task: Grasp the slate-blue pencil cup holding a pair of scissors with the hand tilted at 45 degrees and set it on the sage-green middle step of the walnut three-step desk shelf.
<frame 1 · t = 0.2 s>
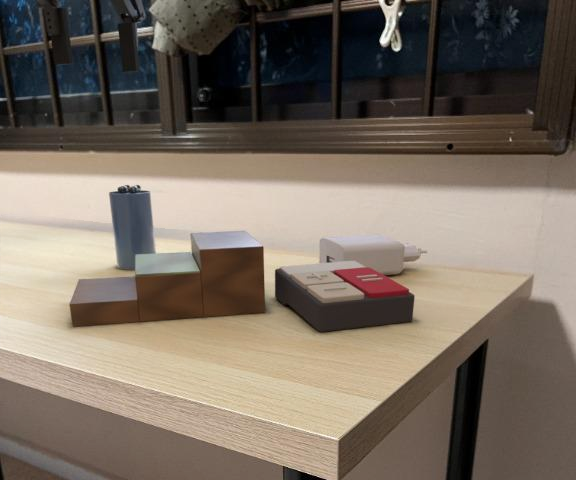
hand: (99, 68, 89), 28 cm above the table, tool pointing down, fingers open, 13 cm apart
step shelf: (169, 305, 73), on the table
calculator: (339, 311, 70), on the table
charger: (377, 271, 90), on the table
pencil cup: (137, 265, 95), on the table
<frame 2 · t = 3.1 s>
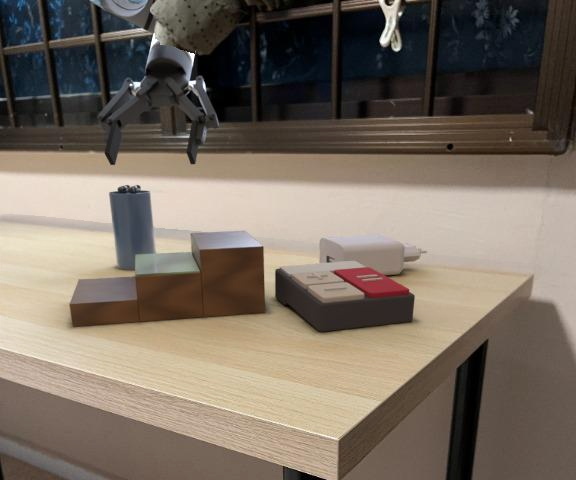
hand: (149, 159, 98), 15 cm above the table, tool tilted 45°, fingers open, 13 cm apart
nothing on the table moved.
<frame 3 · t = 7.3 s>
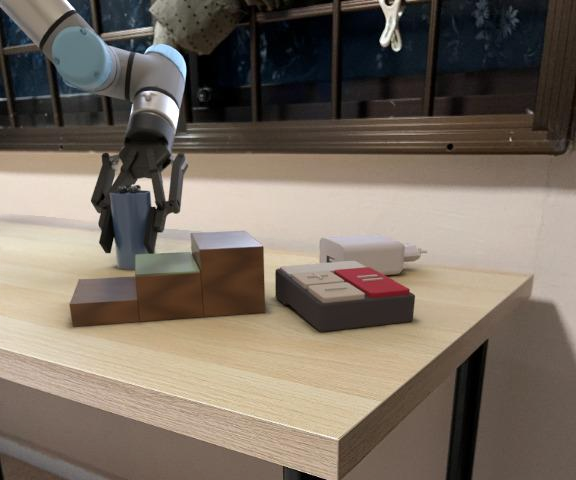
hand: (126, 248, 90), 3 cm above the table, tool tilted 45°, fingers closed on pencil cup, 6 cm apart
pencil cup: (137, 265, 95), on the table, touching gripper
everything else where it was.
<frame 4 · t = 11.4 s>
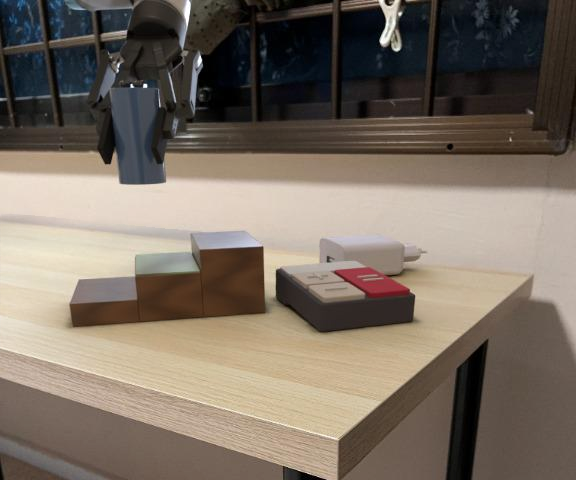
hand: (130, 156, 74), 16 cm above the table, tool tilted 45°, fingers closed on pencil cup, 6 cm apart
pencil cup: (143, 182, 79), point 13 cm above the table, touching gripper
everything else where it was.
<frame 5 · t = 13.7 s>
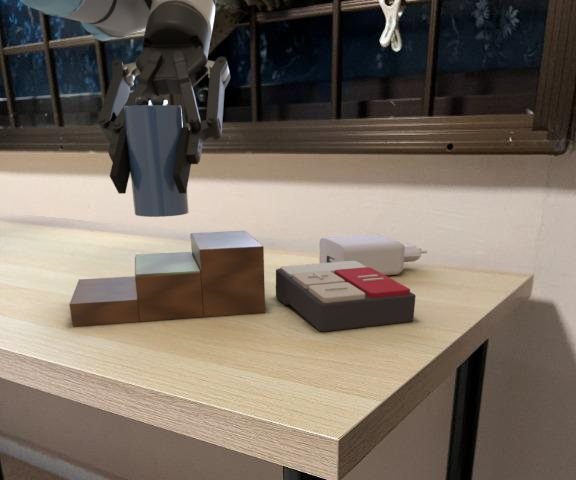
hand: (148, 184, 64), 14 cm above the table, tool tilted 45°, fingers closed on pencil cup, 6 cm apart
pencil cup: (162, 213, 69), point 11 cm above the table, touching gripper
everything else where it was.
when the fingers open (9 cm above the table, at t = 15.6 s): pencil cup stays where it is, resting on step shelf.
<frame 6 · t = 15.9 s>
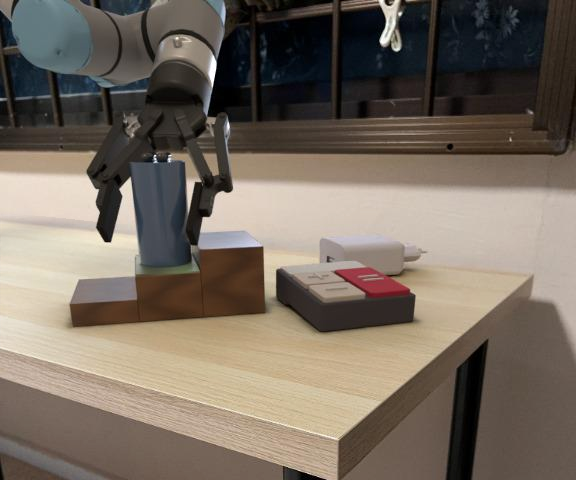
hand: (147, 236, 66), 9 cm above the table, tool tilted 45°, fingers open, 9 cm apart
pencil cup: (166, 262, 71), point 5 cm above the table, touching step shelf
everything else where it was.
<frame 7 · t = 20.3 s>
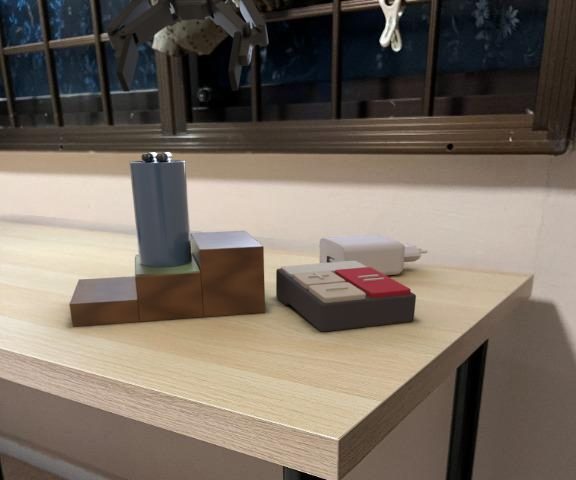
hand: (177, 82, 73), 25 cm above the table, tool tilted 45°, fingers open, 13 cm apart
nothing on the table moved.
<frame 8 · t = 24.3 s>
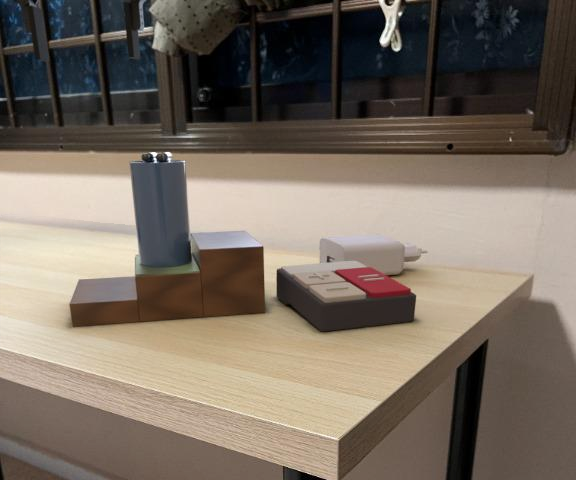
hand: (88, 59, 86), 29 cm above the table, tool pointing down, fingers open, 13 cm apart
nothing on the table moved.
at the end: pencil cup 0.0 cm off-centre on the step shelf, point 5.2 cm above the step shelf's base; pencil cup tilted 0°; the gripper is holding nothing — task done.
